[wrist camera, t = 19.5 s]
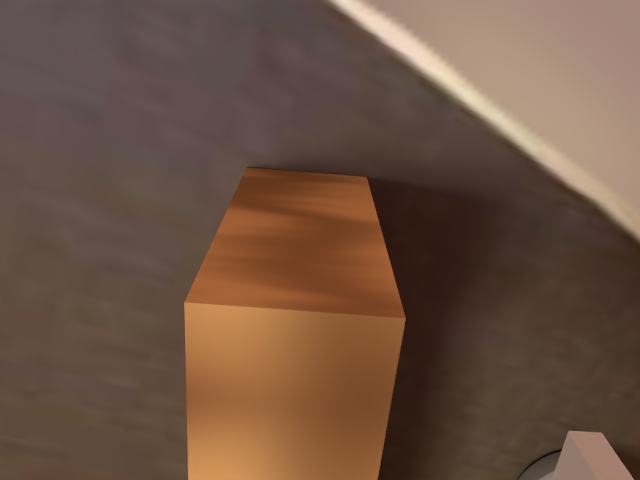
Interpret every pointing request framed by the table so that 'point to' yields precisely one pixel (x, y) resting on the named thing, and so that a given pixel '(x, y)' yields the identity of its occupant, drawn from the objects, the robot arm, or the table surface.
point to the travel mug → (542, 468)
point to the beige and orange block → (292, 334)
